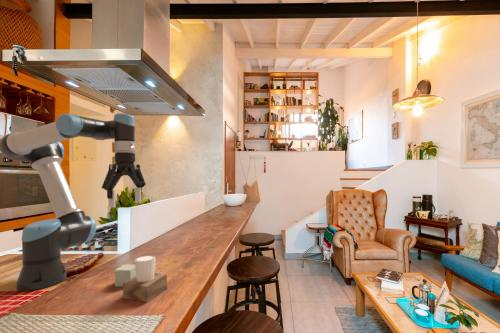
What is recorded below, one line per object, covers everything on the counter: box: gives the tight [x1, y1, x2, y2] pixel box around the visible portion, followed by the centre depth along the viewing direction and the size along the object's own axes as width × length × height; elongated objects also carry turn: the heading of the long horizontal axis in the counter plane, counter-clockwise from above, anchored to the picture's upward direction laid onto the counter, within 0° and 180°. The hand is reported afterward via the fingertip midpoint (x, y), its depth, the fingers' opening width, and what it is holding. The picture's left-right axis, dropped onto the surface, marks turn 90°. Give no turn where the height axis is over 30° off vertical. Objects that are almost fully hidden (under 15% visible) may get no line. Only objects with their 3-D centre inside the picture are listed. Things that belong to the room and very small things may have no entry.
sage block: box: [114, 263, 136, 287], centre depth 99 cm, size 6×6×6 cm
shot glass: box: [134, 255, 157, 282], centre depth 90 cm, size 7×7×7 cm
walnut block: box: [122, 272, 168, 303], centre depth 90 cm, size 10×10×5 cm
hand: (125, 204), depth 106 cm, fingers open, 13 cm apart
